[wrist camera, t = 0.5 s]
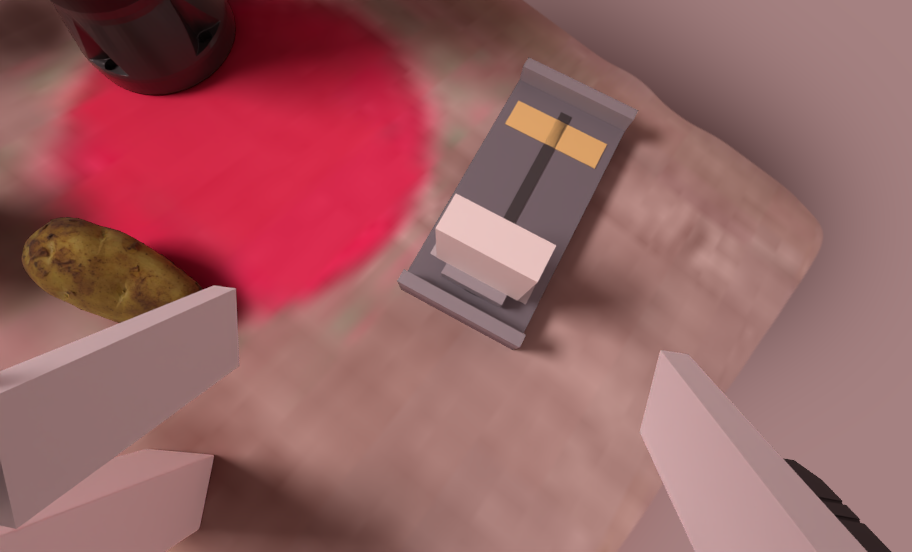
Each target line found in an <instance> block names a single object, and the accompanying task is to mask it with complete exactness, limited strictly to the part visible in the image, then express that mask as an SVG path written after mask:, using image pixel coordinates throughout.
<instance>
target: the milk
mask: <svg viewBox="0 0 912 552" xmlns="http://www.w3.org/2000/svg"><path fill="white" fill-rule="evenodd" d="M213 459H214V455H210V454H199V453H188V452H177V451H166V450H155V449H145V450H141V451H137V452H134V453H130V454H126V455H123V456H119V457H115V458H113V459H111V460H110V461H109V462H107V463H106V464H105V465H103V466H102V467H100V468H99V469H98V470H96V471H95V472H94V473H92V474H91V475H89V476H88V477H87V478H85V479H84V480H83V481H81V482H80V483H79V484H77V485H76V486H74V487H73V488H72V489H70V490H69V491H68V492H66V493H65V494H63V495H62V496H61V497H59V498H58V499H57V500H55V501H54V502H53V503H51V504H50V505H48V506H47V507H46V508H44V509H43V510H42V511H40V512H39V513H37V514H36V515H35V516H33V517H32V518H31V519H29V520H28V521H27V522H25V523H24V524H22V525H21V526H20V527H18V528H17V529H14V528H9V527H5V526H0V552H165V551H167V550H168V549H170V548H172V547H173V546H175V545H176V544H178V543H179V542H181V541H182V540H184V539H185V538H187V537H188V536H190V535H191V534H193V533H194V532H196V531H197V530H198V529H199V528H200V524H201V519H202V514H203V509H204V504H205V499H206V494H207V489H208V484H209V479H210V474H211V469H212V464H213Z"/></svg>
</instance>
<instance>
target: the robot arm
mask: <svg viewBox="0 0 912 552" xmlns="http://www.w3.org/2000/svg"><path fill="white" fill-rule="evenodd" d="M50 1H51V2H52V3H53V5H54V6H55V8H56V10H57V11H58V13H59V15H60V16H61V18H62V20H63V21H64V23H65V25H66V26H67V28H68V30H69V31H70V33H71V35H72V36H73V38H74V40H75V41H76V43H77V44H78V46H79V48H80V49H81V51H82V53H83V54H84V55H85V57H86V58H87V59H88V60H89V61H90V62H91V63H92V65H94V66H95V67H96V68H97V69H98V70H99V71H100V72H102V73H103V74H104V75H105V76H106V77H107V78H108V79H110V80H111V81H112V82H114V83H115V84H117V85H118V86H120V87H122V88H124V89H127V90H130V91H133V92H137V93H142V94H152V95H158V94H168V93H174V92H178V91H182V90H185V89H187V88H190V87H192V86H194V85H196V84H198V83H200V82H202V81H203V80H205V79H206V78H208V77H209V76H210V75H211V74H213V73H214V72H215V71H216V70H217V69H218V68H219V67H220V66H221V64H222V63H223V62H224V60H225V59H226V57H227V56H228V54H229V52H230V50H231V48H232V45H233V42H234V37H235V19H234V15H233V12H232V9H231V7H230V5H229V4H228V2H227V0H50ZM237 367H239V346H238V324H237V301H236V288H229V287H222V286H215V285H213V286H211V287H208V288H206V289H203V290H201V291H198V292H196V293H193V294H191V295H189V296H186V297H184V298H181V299H179V300H176V301H174V302H171V303H169V304H166V305H164V306H161V307H159V308H156V309H154V310H151V311H149V312H146V313H144V314H141V315H139V316H136V317H134V318H131V319H129V320H126V321H124V322H121V323H119V324H116V325H114V326H111V327H109V328H106V329H104V330H101V331H99V332H97V333H94V334H92V335H89V336H87V337H84V338H82V339H79V340H77V341H74V342H72V343H69V344H67V345H64V346H62V347H59V348H57V349H54V350H52V351H49V352H47V353H44V354H42V355H39V356H37V357H34V358H32V359H29V360H27V361H24V362H22V363H19V364H17V365H14V366H12V367H9V368H7V369H5V370H2V371H0V526H5V527H9V528H14V529H17V528H18V527H20V526H21V525H22V524H24V523H25V522H27V521H28V520H29V519H31V518H32V517H33V516H35V515H36V514H37V513H39V512H40V511H42V510H43V509H44V508H46V507H47V506H48V505H50V504H51V503H53V502H54V501H55V500H57V499H58V498H59V497H61V496H62V495H63V494H65V493H66V492H68V491H69V490H70V489H72V488H73V487H74V486H76V485H77V484H79V483H80V482H81V481H83V480H84V479H85V478H87V477H88V476H89V475H91V474H92V473H94V472H95V471H96V470H98V469H99V468H100V467H102V466H103V465H105V464H106V463H107V462H109V461H110V460H111V459H113V458H114V457H115V456H117V455H118V454H120V453H121V452H122V451H124V450H125V449H126V448H128V447H129V446H131V445H132V444H133V443H135V442H136V441H137V440H139V439H140V438H141V437H143V436H144V435H146V434H147V433H148V432H150V431H151V430H152V429H154V428H155V427H157V426H158V425H159V424H161V423H162V422H163V421H165V420H166V419H167V418H169V417H170V416H172V415H173V414H174V413H176V412H177V411H178V410H180V409H181V408H182V407H184V406H185V405H187V404H188V403H189V402H191V401H192V400H193V399H195V398H196V397H198V396H199V395H200V394H202V393H203V392H204V391H206V390H207V389H208V388H210V387H211V386H213V385H214V384H215V383H217V382H218V381H219V380H221V379H222V378H224V377H225V376H226V375H228V374H229V373H230V372H232V371H233V370H234V369H236V368H237ZM640 434H641V436H642V438H643V440H644V443H645V445H646V447H647V449H648V451H649V453H650V456H651V458H652V460H653V462H654V464H655V466H656V469H657V471H658V473H659V475H660V477H661V479H662V482H663V484H664V486H665V488H666V490H667V492H668V495H669V497H670V499H671V501H672V503H673V505H674V507H675V510H676V512H677V514H678V516H679V518H680V521H681V523H682V525H683V527H684V529H685V531H686V534H687V536H688V538H689V540H690V542H691V545H692V547H693V549H694V551H695V552H891V551H890V550H889V549H888V548H887V547H886V546H885V545H884V544H883V543H882V542H881V541H880V540H879V539H878V537H877V536H876V535H875V534H874V533H873V532H872V531H871V530H870V529H869V528H868V527H867V526H866V525H865V524H862V523H860V521H859V520H860V519H859V518H858V517H857V516H856V515H855V514H854V513H853V512H852V511H851V510H850V509H849V508H848V507H847V505H843V504H842V500H841V499H840V498H839V497H838V496H837V495H836V494H835V493H834V492H833V491H832V490H831V489H830V488H829V487H828V486H827V485H826V484H825V483H824V482H823V481H822V480H821V479H820V478H818V477H817V476H816V475H814V474H813V473H811V472H810V471H809V470H807V469H806V468H804V467H803V466H801V465H800V464H798V463H797V462H796V461H794V460H789V459H783V458H782V457H781V456H780V455H779V454H778V452H776V450H775V449H774V448H773V447H772V446H771V445H770V444H769V443H768V441H767V440H766V439H765V438H764V437H763V436H762V435H761V434H760V433H759V432H758V430H757V429H756V428H755V427H754V426H753V425H752V424H751V423H750V422H749V421H748V419H747V418H746V417H745V416H744V415H743V414H742V413H741V412H740V411H739V410H738V408H737V407H736V406H735V405H734V404H733V403H732V402H731V401H730V400H729V398H728V397H727V396H726V395H725V394H724V393H723V392H722V391H721V390H720V388H719V387H718V386H717V385H716V384H715V383H714V382H713V381H712V380H711V379H710V377H709V376H708V375H707V374H706V373H705V372H704V371H703V370H702V369H701V368H700V366H699V365H698V364H697V363H696V362H695V361H694V360H693V359H692V358H691V357H690V355H689V354H685V353H678V352H671V351H664V350H660V354H659V358H658V362H657V366H656V370H655V374H654V377H653V381H652V385H651V389H650V393H649V397H648V401H647V405H646V409H645V413H644V417H643V421H642V425H641V429H640Z"/></svg>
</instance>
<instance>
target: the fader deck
mask: <svg viewBox="0 0 912 552" xmlns="http://www.w3.org/2000/svg"><path fill="white" fill-rule="evenodd" d="M637 112H638V110H636V109H634V108H632V107H630V106H628V105H626V104H624V103H622V102H620V101H618V100H616V99H614V98H612V97H610V96H608V95H606V94H603V93H601V92H599V91H597V90H595V89H593V88H591V87H589V86H587V85H585V84H583V83H581V82H579V81H577V80H575V79H573V78H570V77H568V76H566V75H564V74H562V73H560V72H558V71H556V70H554V69H552V68H550V67H548V66H546V65H544V64H542V63H539V62H537V61H535V60H533V59H531V58H529V57H528V59H527V61H526V62H525V64H524V66H523V69H522V73H521V76H520V80H519V82H518V83H517V85H516V87H515V88H514V90H513V92H512V94H511V95H510V97H509V99H508V100H507V102H506V104H505V106H504V107H503V109H502V111H501V112H500V114H499V116H498V118H497V119H496V121H495V123H494V124H493V126H492V128H491V130H490V131H489V133H488V135H487V136H486V138H485V140H484V141H483V143H482V145H481V147H480V148H479V150H478V152H477V153H476V155H475V157H474V159H473V160H472V162H471V164H470V165H469V167H468V169H467V171H466V172H465V174H464V176H463V177H462V179H461V181H460V183H459V184H458V186H457V188H456V189H455V191H454V193H453V195H452V196H451V198H450V200H449V201H448V203H447V205H446V207H445V208H444V210H443V212H442V213H441V215H440V217H439V218H438V220H437V222H436V224H435V225H434V227H433V229H432V230H431V232H430V234H429V236H428V237H427V239H426V241H425V242H424V244H423V246H422V248H421V249H420V251H419V253H418V254H417V256H416V258H415V260H414V261H413V263H412V265H411V266H410V268H409V270H408V271H406V270H403V272H402V274H401V275H400V277H399V279H398V280H397V282H398V284H399V286H400V288H401V289H402V290H403V291H405V292H407V293H409V294H411V295H413V296H414V297H416V298H418V299H420V300H422V301H424V302H425V303H427V304H429V305H431V306H433V307H435V308H436V309H438V310H440V311H442V312H444V313H446V314H448V315H449V316H451V317H453V318H455V319H457V320H459V321H460V322H462V323H464V324H466V325H468V326H470V327H471V328H473V329H475V330H477V331H479V332H481V333H482V334H484V335H486V336H488V337H490V338H492V339H493V340H495V341H497V342H499V343H501V344H503V345H504V346H506V347H508V348H510V349H512V350H513V349H516V348H520V346H521V344H522V342H523V340H524V338H525V336H526V335H525V334H523V333H524V331H525V329H526V327H527V325H528V323H529V321H530V319H531V317H532V315H533V313H534V311H535V309H536V307H537V305H538V303H539V301H540V299H541V297H542V295H543V293H544V291H545V289H546V287H547V285H548V283H549V281H550V279H551V277H552V275H553V273H554V271H555V269H556V267H557V265H558V263H559V261H560V259H561V257H562V255H563V253H564V251H565V249H566V247H567V245H568V243H569V241H570V239H571V237H572V235H573V233H574V231H575V229H576V227H577V225H578V223H579V221H580V219H581V217H582V215H583V213H584V211H585V209H586V207H587V205H588V203H589V201H590V200H591V198H592V196H593V194H594V192H595V190H596V188H597V186H598V184H599V182H600V180H601V178H602V176H603V174H604V172H605V170H606V168H607V166H608V164H609V162H610V160H611V158H612V156H613V154H614V152H615V150H616V148H617V146H618V144H619V142H620V140H621V138H622V136H623V134H624V132H625V130H626V129H627V128H628V126H629V125H630V124H631V122H632V121H633V120H634V118H635V116H636V114H637ZM455 194H458V195H460V196H462V197H464V198H466V199H468V200H470V201H472V202H474V203H475V204H477V205H479V206H481V207H483V208H485V209H487V210H489V211H491V212H493V213H495V214H497V215H499V216H501V217H502V218H504V219H506V220H508V221H510V222H512V223H514V224H516V225H518V226H520V227H522V228H524V229H526V230H528V231H529V232H531V233H533V234H535V235H537V236H539V237H541V238H543V239H545V240H547V241H549V242H551V243H553V244H554V245H556V247H555V249H554V251H553V253H552V255H551V257H550V259H549V261H548V263H547V265H546V267H545V269H544V271H543V273H542V275H541V277H540V279H539V281H538V282H537V283H536V284H535V285H534V286H533V287H532V288H531V289H530V290H529V291H527V292H526V293H525V294H524V295H523V296H522V297H521V298H520V299H519V300H515V299H513V298H511V297H509V296H508V295H507V296H506V298H505V300H504V302H503V304H502V306H501V307H500V308H499V307H497V306H495V305H494V304H492V303H490V302H488V301H486V300H484V299H482V298H481V297H479V296H477V295H475V294H473V293H471V292H469V291H468V290H466V289H464V288H462V287H460V286H458V285H456V284H455V283H453V282H451V281H449V280H447V279H445V278H443V277H442V276H441V272H442V270H443V269H444V267H445V265H446V262H444V261H442V260H440V259H438V258H437V253H436V232H435V228H436V226H437V225H438V223H439V221H440V219H441V218H442V216H443V214H444V213H445V211H446V209H447V207H448V206H449V204H450V202H451V201H452V199H453V197H454V195H455Z"/></svg>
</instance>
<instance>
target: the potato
mask: <svg viewBox="0 0 912 552" xmlns="http://www.w3.org/2000/svg"><path fill="white" fill-rule="evenodd" d="M22 253H23V255H22V263H23V266H24V270H25V271H26V272H27V274H28V275H29V276H30V278H31V279H32V280H33V281H34V282H35V283H36V284H37V285H38V286H39V287H41V288H42V289H43V290H44V291H46V292H47V293H49V294H51V295H53V296H54V297H56V298H59V299H61V300H63V301H66V302H68V303H70V304H72V305H74V306H76V307H77V308H79V309H81V310H84V311H87V312H90V313H93V314H96V315H99V316H101V317H104V318H107V319H109V320H112V321H115V322H118V323H121V322H124V321H126V320H129V319H131V318H134V317H136V316H139V315H141V314H144V313H146V312H149V311H151V310H154V309H156V308H159V307H161V306H164V305H166V304H169V303H171V302H174V301H176V300H179V299H181V298H184V297H186V296H189V295H191V294H193V293H196V292H198V291H201V290H202V287H201V286H200V285H199V284H198V283H197V282H196V281H195V280H193V279H192V277H189V276H188V275H187V274H185V272H184V271H183V270H182V269H180V268H177V267H176V266H175V265H174V263H173V262H171V261H170V260H168V259H167V258H165V257H164V256H163V255H162V254H159V253H157V252H156V251H154V250H153V249H151V248H149V247H148V246H146V245H145V244H144V243H142V242H140V241H138V240H137V239H135V238H133V237H131V236H129V235H127V234H125V233H123V232H121V231H118V230H114V229H111V228H107V227H102V226H99V225H96V224H93V223H91V222H88V221H85V220H82V219H79V218H70V217H66V218H57V219H52V220H51V221H50V222H48V223H47V224H45V225H44V226H42V227H41V228H39V229H38V230H37V231H36V232H35V233H33V234H32V235H31V236H30V237H29V238H28V239H27V241H26V242H25V244H24V247H23V249H22Z"/></svg>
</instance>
